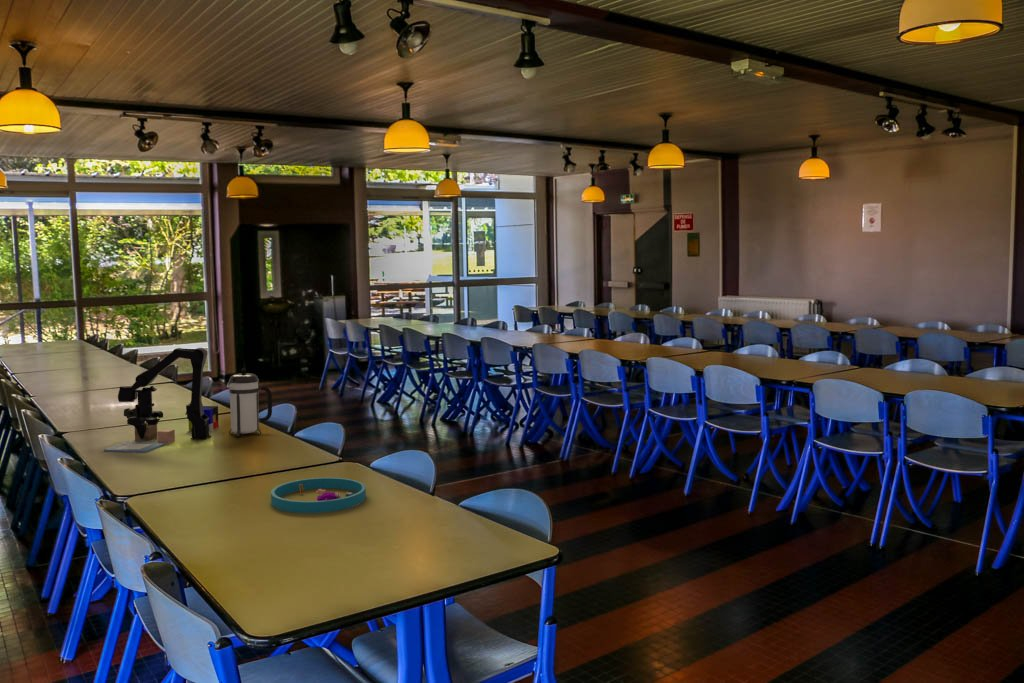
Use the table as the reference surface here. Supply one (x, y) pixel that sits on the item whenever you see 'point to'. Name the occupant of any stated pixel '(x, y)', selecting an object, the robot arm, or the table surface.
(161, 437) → the terracotta block
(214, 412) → the puzzle toy
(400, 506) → the table surface
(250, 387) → the coffee press
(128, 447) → the mat
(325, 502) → the teal ring
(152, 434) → the walnut block
